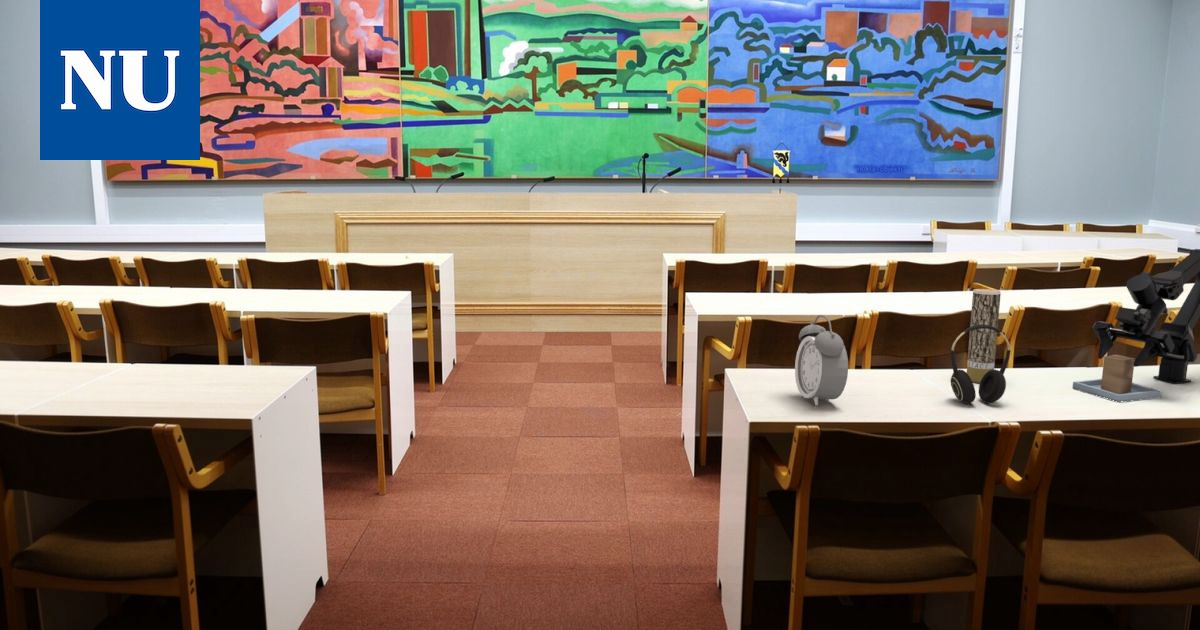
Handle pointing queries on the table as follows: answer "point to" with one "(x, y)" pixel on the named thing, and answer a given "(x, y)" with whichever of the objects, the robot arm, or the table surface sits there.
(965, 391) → the headphones
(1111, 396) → the tray
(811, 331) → the alarm clock
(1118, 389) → the walnut block
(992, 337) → the paper tube
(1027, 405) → the table surface
